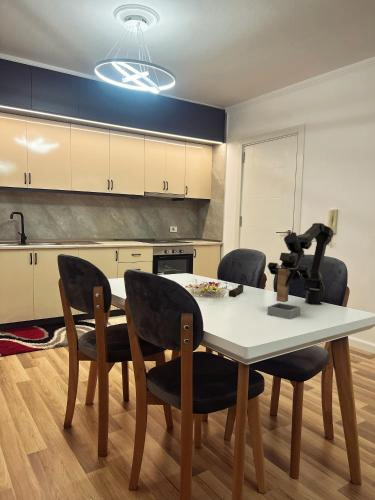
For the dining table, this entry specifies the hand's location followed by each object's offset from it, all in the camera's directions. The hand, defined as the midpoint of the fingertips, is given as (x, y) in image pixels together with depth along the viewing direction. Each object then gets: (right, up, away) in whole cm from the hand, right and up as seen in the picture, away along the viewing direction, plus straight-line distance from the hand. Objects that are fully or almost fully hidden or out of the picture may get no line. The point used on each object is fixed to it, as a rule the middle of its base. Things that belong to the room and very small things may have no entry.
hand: (281, 285), depth 162 cm
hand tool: (-14, -9, +44) cm, 47 cm away
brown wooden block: (+1, -7, +2) cm, 7 cm away
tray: (+1, -13, +1) cm, 13 cm away
